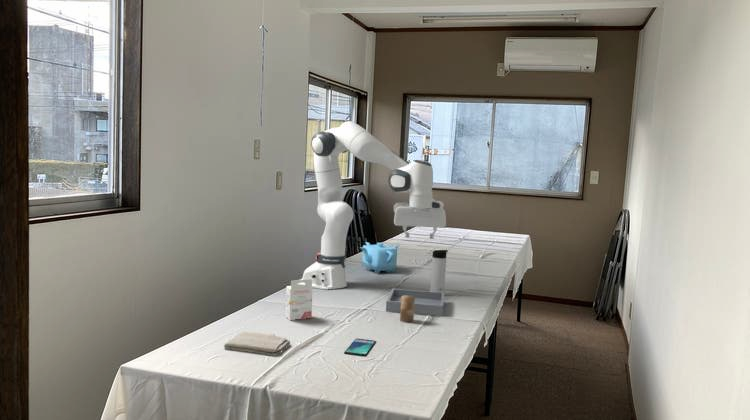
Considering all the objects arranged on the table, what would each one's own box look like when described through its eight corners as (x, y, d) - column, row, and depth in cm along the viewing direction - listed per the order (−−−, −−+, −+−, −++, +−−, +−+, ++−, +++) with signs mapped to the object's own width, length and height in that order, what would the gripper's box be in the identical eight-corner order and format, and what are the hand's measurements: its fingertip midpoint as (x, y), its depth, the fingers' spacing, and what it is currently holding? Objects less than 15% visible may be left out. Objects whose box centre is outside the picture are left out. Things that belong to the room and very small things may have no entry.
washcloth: (278, 357, 176) (278, 347, 176) (222, 350, 180) (222, 341, 179) (291, 345, 188) (292, 335, 187) (238, 339, 191) (239, 329, 191)
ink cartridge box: (306, 315, 220) (308, 276, 218) (311, 318, 216) (313, 279, 214) (284, 317, 216) (286, 277, 214) (289, 321, 212) (290, 280, 210)
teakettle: (393, 276, 295) (395, 247, 294) (356, 272, 298) (358, 244, 297) (398, 269, 314) (400, 241, 312) (364, 265, 317) (365, 238, 315)
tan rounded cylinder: (399, 321, 218) (400, 298, 217) (400, 318, 223) (402, 294, 222) (413, 323, 217) (414, 299, 216) (413, 319, 222) (415, 295, 221)
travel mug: (444, 296, 259) (447, 251, 257) (429, 294, 260) (431, 250, 258) (445, 293, 265) (448, 249, 263) (430, 291, 267) (433, 247, 264)
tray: (385, 311, 231) (386, 301, 230) (391, 297, 252) (392, 288, 252) (442, 316, 228) (443, 306, 228) (443, 302, 250) (444, 292, 249)
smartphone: (376, 340, 194) (365, 355, 180) (376, 342, 194) (365, 357, 180) (355, 338, 196) (343, 352, 181) (355, 340, 196) (343, 355, 181)
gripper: (393, 202, 226) (392, 238, 228) (447, 204, 224) (445, 240, 225) (394, 200, 232) (393, 235, 234) (447, 202, 230) (445, 237, 231)
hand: (419, 238), depth 230 cm, fingers open, 8 cm apart
